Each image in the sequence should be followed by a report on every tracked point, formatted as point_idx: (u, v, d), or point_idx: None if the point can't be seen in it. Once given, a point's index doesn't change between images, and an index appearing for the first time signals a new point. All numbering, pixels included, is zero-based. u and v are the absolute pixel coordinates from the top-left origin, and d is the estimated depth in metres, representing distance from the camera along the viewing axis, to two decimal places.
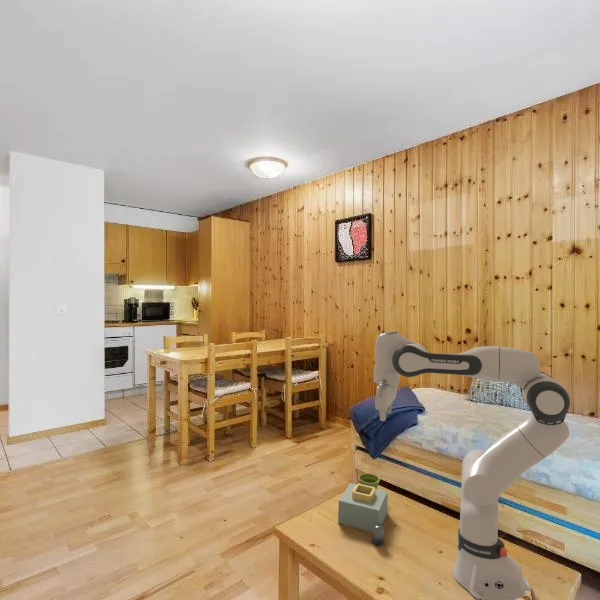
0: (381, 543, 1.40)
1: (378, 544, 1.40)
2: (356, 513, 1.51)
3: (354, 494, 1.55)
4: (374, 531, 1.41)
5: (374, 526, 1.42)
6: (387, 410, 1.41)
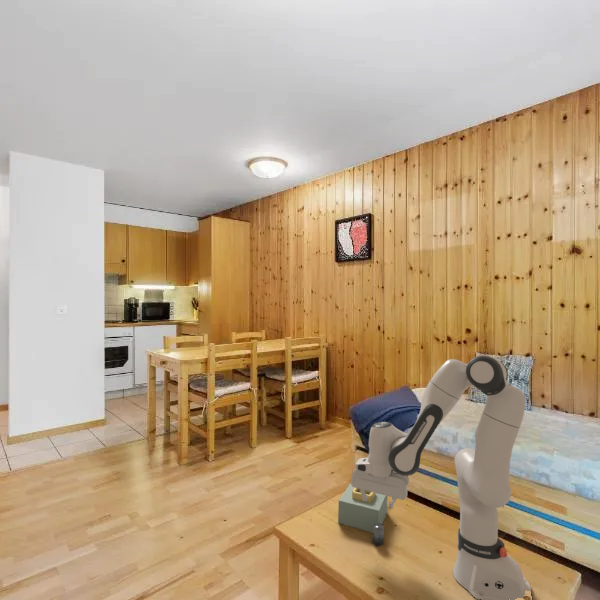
0: (381, 543, 1.40)
1: (378, 544, 1.40)
2: (356, 513, 1.51)
3: (354, 494, 1.55)
4: (374, 531, 1.41)
5: (374, 526, 1.42)
6: (367, 498, 1.44)
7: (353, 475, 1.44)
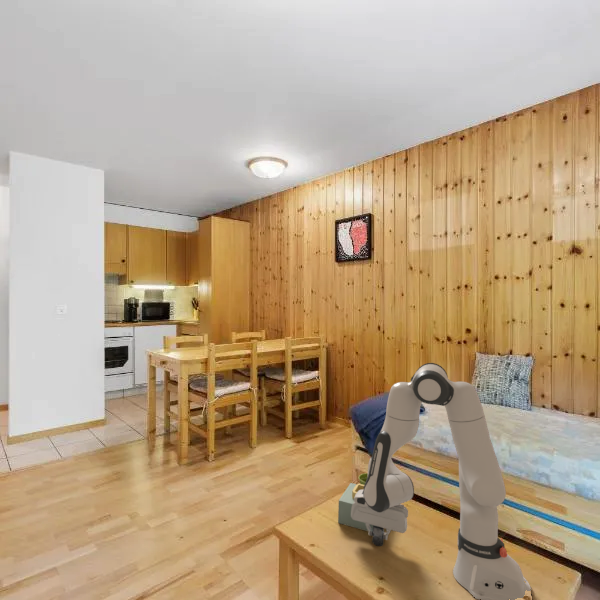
0: (381, 543, 1.40)
1: (378, 544, 1.40)
2: None
3: (354, 494, 1.55)
4: (374, 531, 1.41)
5: (374, 526, 1.42)
6: (372, 532, 1.43)
7: (353, 508, 1.44)
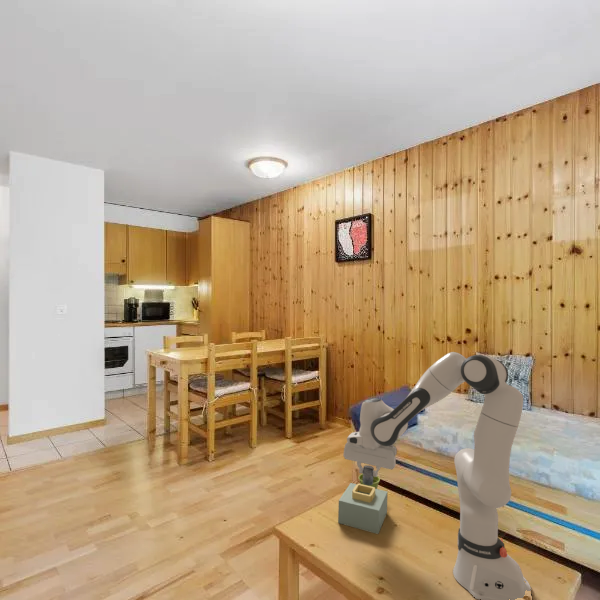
0: (371, 483, 1.51)
1: (368, 483, 1.50)
2: (356, 513, 1.51)
3: (354, 494, 1.55)
4: (364, 471, 1.51)
5: (365, 467, 1.52)
6: None
7: (345, 448, 1.54)
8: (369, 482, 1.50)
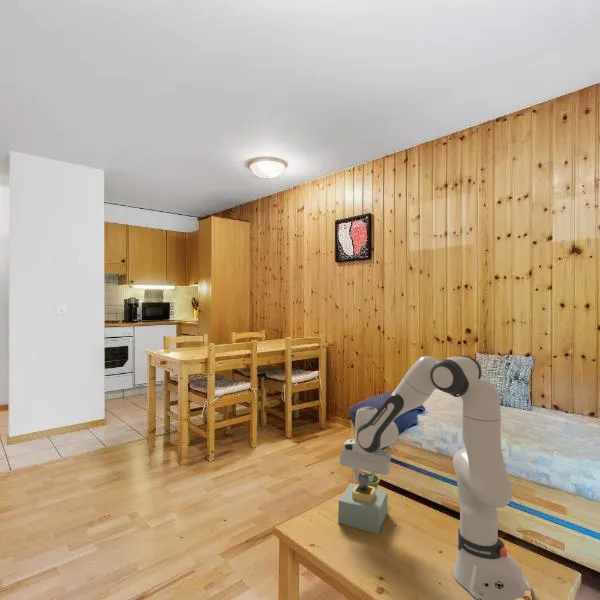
0: (366, 489, 1.56)
1: (363, 490, 1.55)
2: (356, 513, 1.51)
3: (354, 494, 1.55)
4: (360, 478, 1.56)
5: (360, 474, 1.57)
6: None
7: (341, 454, 1.59)
8: (365, 488, 1.55)
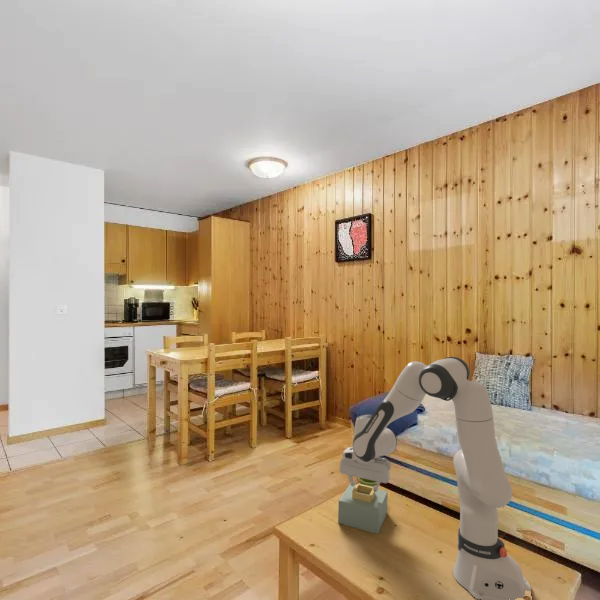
0: None
1: None
2: (356, 513, 1.51)
3: (354, 494, 1.55)
4: None
5: None
6: (354, 483, 1.59)
7: (341, 463, 1.59)
8: None
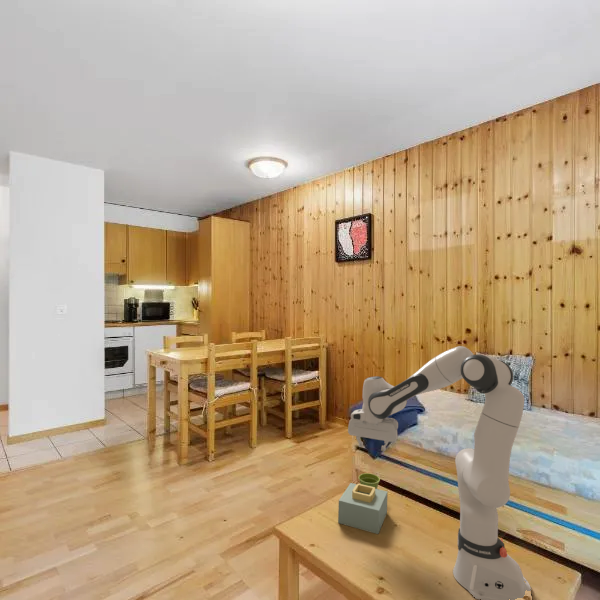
0: None
1: None
2: (356, 513, 1.51)
3: (354, 494, 1.55)
4: None
5: None
6: (362, 444, 1.63)
7: (349, 424, 1.62)
8: None
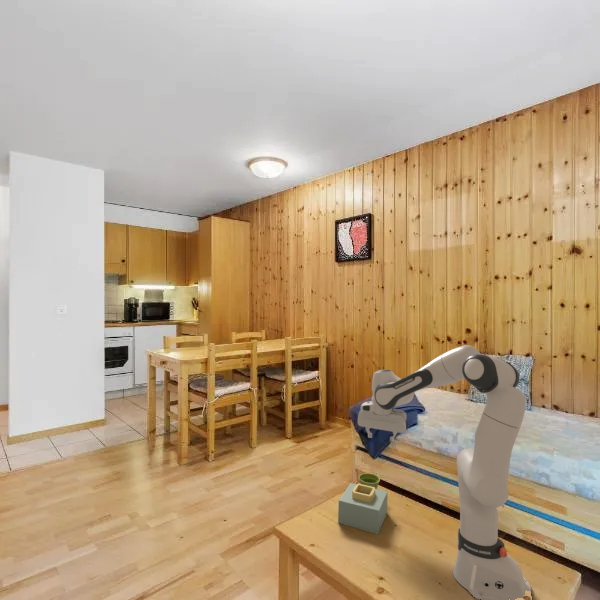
0: None
1: None
2: (356, 513, 1.51)
3: (354, 494, 1.55)
4: None
5: None
6: (371, 435, 1.67)
7: (359, 415, 1.67)
8: None
